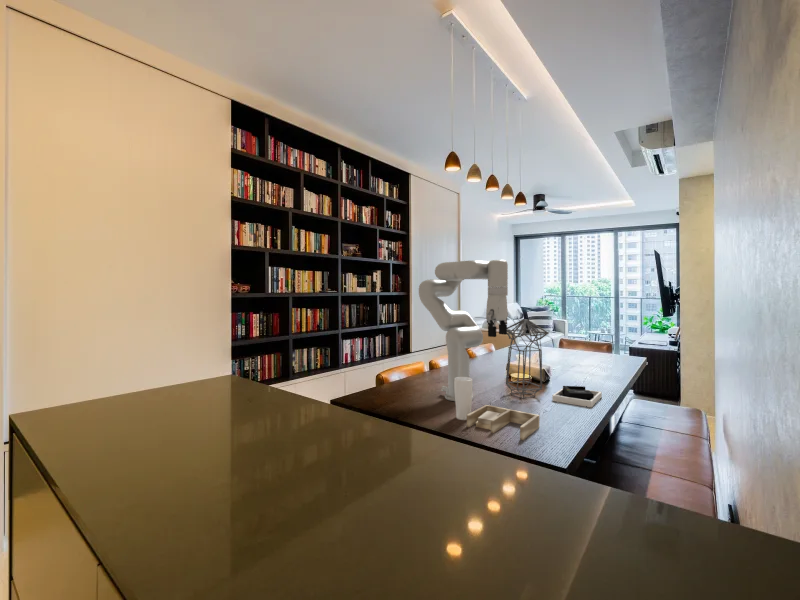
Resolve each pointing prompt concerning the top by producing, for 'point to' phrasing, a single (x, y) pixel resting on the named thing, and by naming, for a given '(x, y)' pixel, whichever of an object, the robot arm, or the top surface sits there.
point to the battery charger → (577, 392)
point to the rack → (507, 419)
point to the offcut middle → (483, 425)
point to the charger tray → (575, 401)
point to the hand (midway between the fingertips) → (497, 335)
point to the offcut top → (487, 417)
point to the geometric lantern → (525, 354)
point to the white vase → (463, 396)
